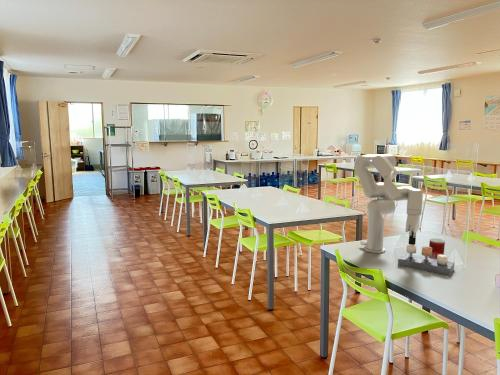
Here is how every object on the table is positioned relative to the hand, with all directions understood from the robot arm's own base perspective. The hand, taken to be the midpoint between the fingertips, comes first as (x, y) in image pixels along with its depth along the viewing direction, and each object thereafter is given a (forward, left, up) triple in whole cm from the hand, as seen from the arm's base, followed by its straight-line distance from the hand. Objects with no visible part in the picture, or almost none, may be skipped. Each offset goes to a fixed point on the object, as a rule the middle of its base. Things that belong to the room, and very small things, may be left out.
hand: (411, 244), depth 227 cm
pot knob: (+8, 0, -8) cm, 11 cm away
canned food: (+9, +20, -12) cm, 25 cm away
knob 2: (+16, 0, -11) cm, 19 cm away
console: (+8, 0, -12) cm, 14 cm away
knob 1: (0, 0, -8) cm, 8 cm away
